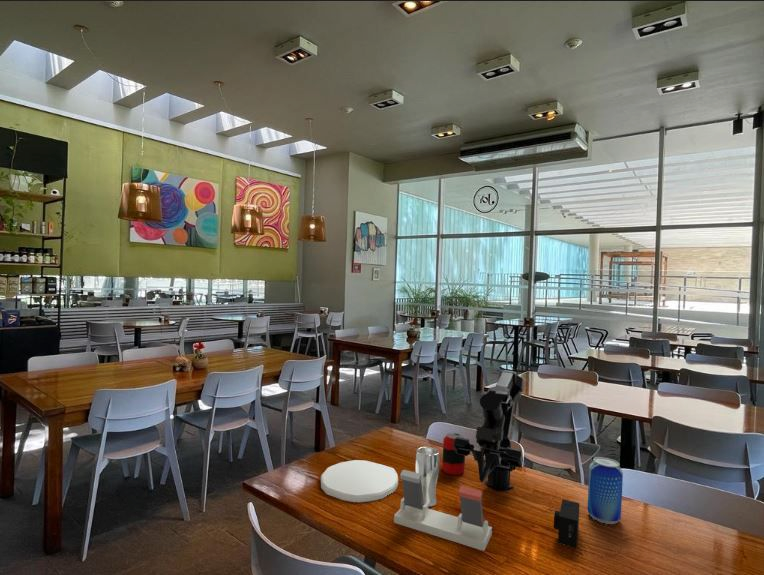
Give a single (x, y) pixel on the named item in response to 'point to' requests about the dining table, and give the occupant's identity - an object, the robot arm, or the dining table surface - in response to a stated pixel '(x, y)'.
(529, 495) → the dining table surface
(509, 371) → the robot arm
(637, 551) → the dining table surface
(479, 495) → the red-capped switch paddle
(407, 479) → the grey lever
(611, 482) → the beer can
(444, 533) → the switch console
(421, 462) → the beer glass
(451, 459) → the soda can
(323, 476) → the white flat disc
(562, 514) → the digital camera
